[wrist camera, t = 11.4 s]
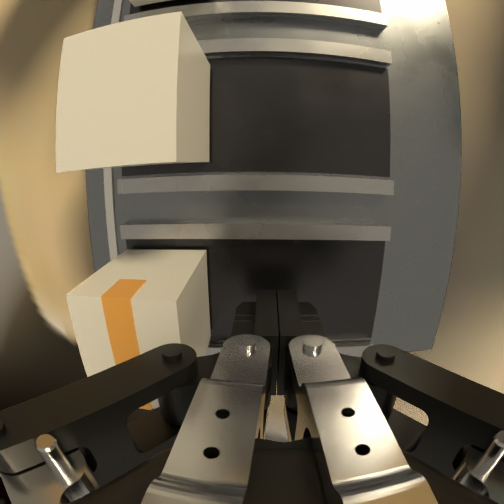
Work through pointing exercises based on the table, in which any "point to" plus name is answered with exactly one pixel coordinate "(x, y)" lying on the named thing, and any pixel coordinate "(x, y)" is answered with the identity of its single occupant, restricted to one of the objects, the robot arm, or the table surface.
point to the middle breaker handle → (133, 96)
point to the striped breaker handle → (141, 307)
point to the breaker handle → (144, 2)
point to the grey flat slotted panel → (308, 165)
